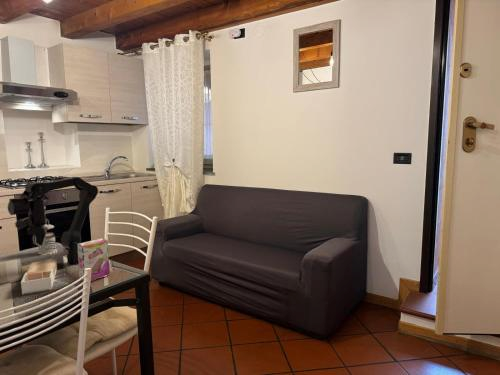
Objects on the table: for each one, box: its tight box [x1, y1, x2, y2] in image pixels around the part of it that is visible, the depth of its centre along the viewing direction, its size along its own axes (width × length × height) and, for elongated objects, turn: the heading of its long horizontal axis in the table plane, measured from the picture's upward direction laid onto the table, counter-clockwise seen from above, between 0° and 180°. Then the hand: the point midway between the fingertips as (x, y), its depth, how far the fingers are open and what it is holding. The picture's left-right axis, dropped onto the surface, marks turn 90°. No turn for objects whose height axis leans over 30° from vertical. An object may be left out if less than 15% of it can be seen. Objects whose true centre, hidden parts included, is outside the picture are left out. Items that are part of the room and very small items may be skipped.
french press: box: [32, 206, 58, 256], centre depth 181 cm, size 10×12×25 cm
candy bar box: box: [77, 238, 110, 281], centre depth 146 cm, size 11×5×16 cm, turn 141°
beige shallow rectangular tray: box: [26, 258, 58, 280], centre depth 152 cm, size 10×16×4 cm, turn 25°
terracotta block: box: [27, 270, 43, 281], centre depth 141 cm, size 5×5×2 cm
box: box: [20, 269, 55, 295], centre depth 140 cm, size 10×11×5 cm
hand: (40, 245), depth 153 cm, fingers closed
